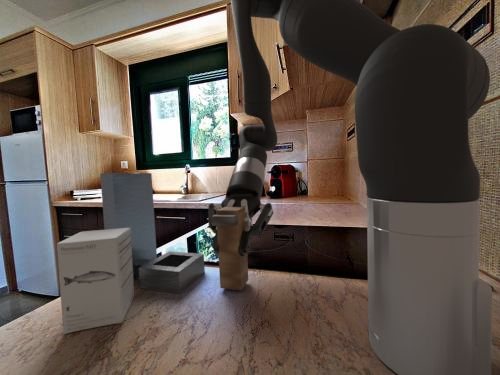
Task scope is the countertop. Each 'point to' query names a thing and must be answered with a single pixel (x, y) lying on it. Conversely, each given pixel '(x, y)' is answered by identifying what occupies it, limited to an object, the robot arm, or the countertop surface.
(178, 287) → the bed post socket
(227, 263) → the tan post
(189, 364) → the countertop surface
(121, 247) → the supplement box
